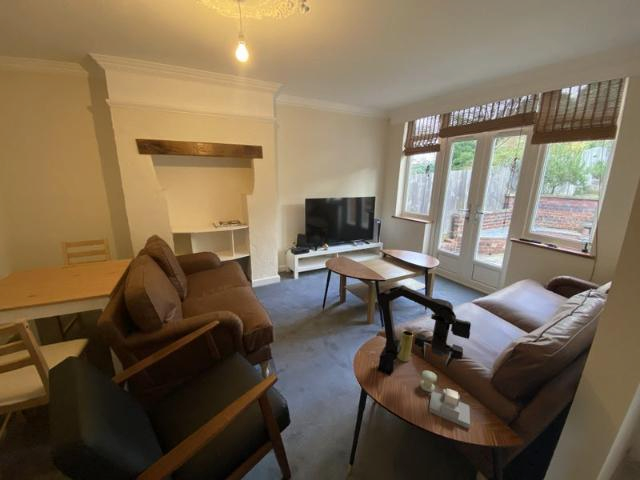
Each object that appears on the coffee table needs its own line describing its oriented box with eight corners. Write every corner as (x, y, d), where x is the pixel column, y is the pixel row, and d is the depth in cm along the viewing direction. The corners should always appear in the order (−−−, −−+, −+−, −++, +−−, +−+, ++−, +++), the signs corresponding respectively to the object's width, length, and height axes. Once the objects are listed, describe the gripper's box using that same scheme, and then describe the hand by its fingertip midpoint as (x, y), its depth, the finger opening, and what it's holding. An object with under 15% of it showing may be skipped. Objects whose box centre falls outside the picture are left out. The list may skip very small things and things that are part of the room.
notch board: (428, 411, 103) (430, 400, 102) (431, 394, 112) (433, 384, 111) (469, 428, 97) (471, 417, 96) (468, 409, 106) (470, 399, 105)
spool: (419, 388, 115) (421, 376, 114) (421, 380, 120) (423, 368, 119) (433, 394, 112) (436, 382, 111) (435, 385, 118) (437, 373, 116)
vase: (410, 363, 132) (415, 337, 129) (398, 360, 133) (402, 335, 130) (409, 355, 138) (413, 331, 135) (397, 353, 139) (401, 329, 136)
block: (443, 407, 103) (446, 394, 102) (444, 400, 107) (446, 388, 106) (455, 412, 101) (458, 399, 100) (455, 405, 105) (457, 392, 104)
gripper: (415, 331, 108) (409, 365, 111) (466, 347, 100) (458, 383, 103) (419, 320, 118) (413, 351, 121) (465, 334, 110) (458, 367, 113)
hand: (434, 362), depth 114 cm, fingers open, 9 cm apart
